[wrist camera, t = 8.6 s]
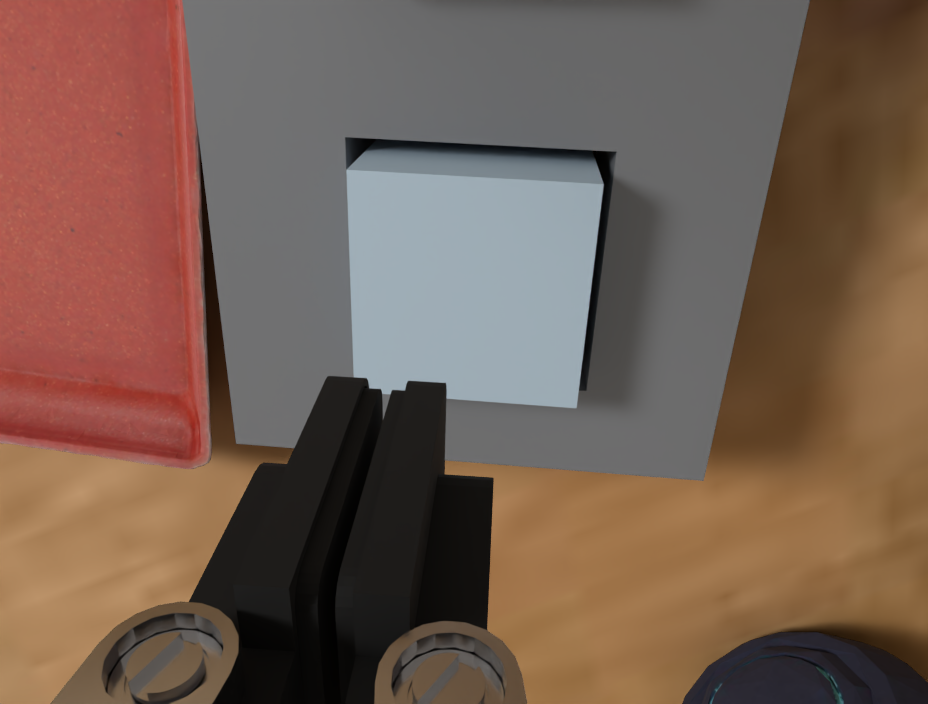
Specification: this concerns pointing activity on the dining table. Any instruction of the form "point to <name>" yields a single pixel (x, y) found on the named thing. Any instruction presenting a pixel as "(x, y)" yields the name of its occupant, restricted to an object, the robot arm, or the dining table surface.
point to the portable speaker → (808, 674)
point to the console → (507, 124)
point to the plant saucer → (101, 233)
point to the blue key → (472, 268)
